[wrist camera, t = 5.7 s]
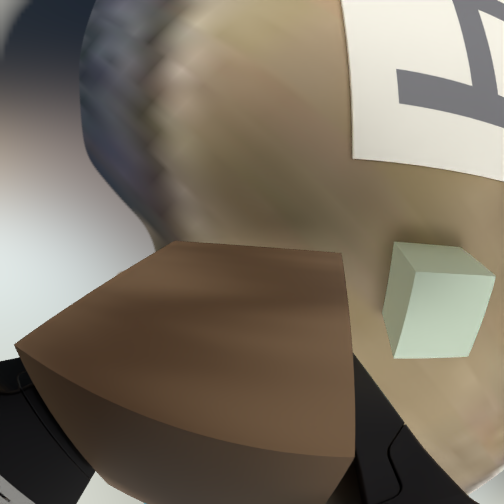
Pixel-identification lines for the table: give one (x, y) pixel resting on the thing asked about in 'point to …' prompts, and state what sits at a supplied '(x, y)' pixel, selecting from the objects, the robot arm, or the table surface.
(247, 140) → the table surface
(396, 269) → the sage cube
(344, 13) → the board
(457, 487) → the robot arm
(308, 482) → the walnut block
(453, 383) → the table surface
